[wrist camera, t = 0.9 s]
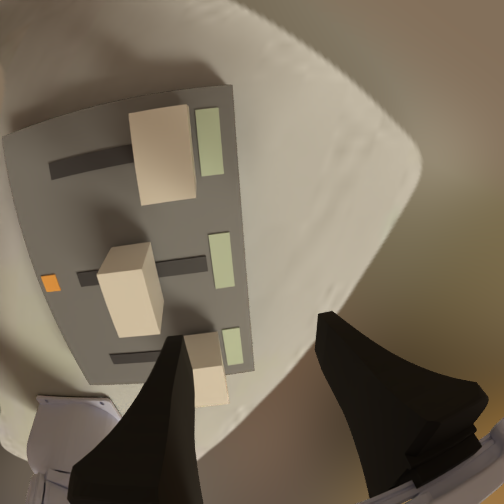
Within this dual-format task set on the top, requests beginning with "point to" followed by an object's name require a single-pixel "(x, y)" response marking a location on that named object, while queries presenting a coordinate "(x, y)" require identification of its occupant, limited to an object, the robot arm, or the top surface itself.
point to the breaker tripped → (132, 290)
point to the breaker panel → (134, 230)
